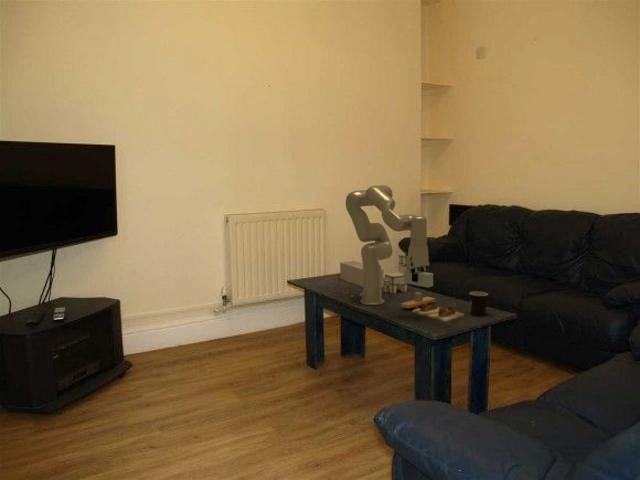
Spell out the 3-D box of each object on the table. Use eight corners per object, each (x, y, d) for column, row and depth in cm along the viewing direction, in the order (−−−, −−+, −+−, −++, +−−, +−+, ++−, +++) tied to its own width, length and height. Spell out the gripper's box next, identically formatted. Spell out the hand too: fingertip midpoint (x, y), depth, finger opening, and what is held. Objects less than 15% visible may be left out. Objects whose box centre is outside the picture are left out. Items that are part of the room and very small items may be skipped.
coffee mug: (485, 317, 241) (486, 296, 239) (467, 315, 245) (467, 294, 243) (490, 311, 251) (491, 291, 249) (472, 308, 255) (473, 289, 253)
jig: (412, 312, 251) (412, 303, 250) (431, 307, 259) (431, 298, 259) (445, 321, 235) (445, 312, 235) (464, 315, 244) (464, 306, 243)
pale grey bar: (404, 282, 246) (404, 270, 245) (409, 281, 249) (409, 269, 248) (427, 287, 236) (427, 274, 235) (433, 286, 238) (433, 273, 237)
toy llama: (381, 292, 291) (381, 257, 288) (405, 288, 299) (405, 254, 296) (389, 295, 284) (389, 259, 281) (413, 290, 293) (414, 256, 290)
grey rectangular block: (340, 279, 327) (340, 262, 325) (354, 277, 332) (354, 260, 330) (368, 289, 299) (368, 271, 297) (383, 287, 304) (383, 269, 303)
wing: (401, 309, 257) (401, 295, 256) (427, 302, 269) (427, 289, 268) (408, 311, 253) (408, 297, 252) (434, 304, 265) (435, 290, 264)
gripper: (424, 239, 247) (424, 277, 250) (399, 243, 238) (399, 282, 240) (436, 241, 241) (436, 279, 244) (411, 245, 232) (411, 284, 234)
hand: (418, 280), depth 242 cm, fingers closed on pale grey bar, 4 cm apart
